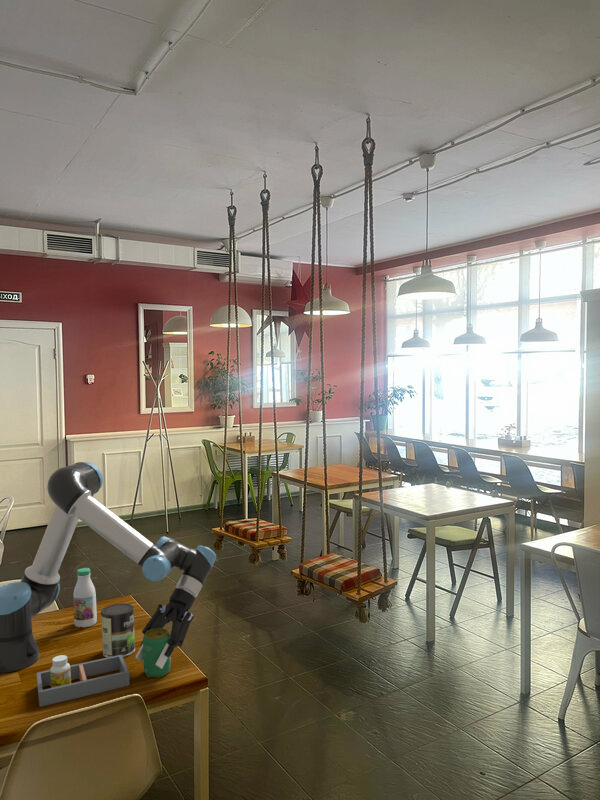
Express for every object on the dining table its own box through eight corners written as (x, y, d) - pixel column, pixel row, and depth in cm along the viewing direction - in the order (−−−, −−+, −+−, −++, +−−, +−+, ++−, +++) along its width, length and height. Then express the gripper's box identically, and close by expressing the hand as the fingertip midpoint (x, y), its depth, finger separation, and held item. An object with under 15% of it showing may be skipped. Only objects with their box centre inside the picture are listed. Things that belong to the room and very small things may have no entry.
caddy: (37, 686, 178) (36, 672, 177) (122, 667, 188) (121, 654, 188) (39, 706, 166) (39, 692, 166) (129, 685, 177) (129, 672, 177)
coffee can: (140, 645, 203) (139, 603, 202) (126, 659, 193) (124, 616, 192) (112, 643, 205) (110, 602, 205) (96, 657, 195) (94, 614, 194)
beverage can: (174, 674, 183) (173, 634, 182) (147, 681, 179) (146, 640, 179) (166, 663, 190) (165, 625, 189) (141, 669, 186) (139, 631, 186)
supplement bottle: (75, 688, 176) (74, 655, 176) (61, 697, 171) (60, 663, 171) (60, 685, 178) (59, 652, 178) (46, 694, 173) (45, 660, 173)
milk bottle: (80, 619, 226) (78, 565, 226) (100, 619, 225) (98, 566, 225) (70, 627, 219) (68, 572, 218) (90, 628, 218) (88, 573, 217)
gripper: (216, 604, 191) (180, 677, 178) (168, 592, 202) (132, 659, 190) (203, 593, 186) (166, 666, 173) (156, 581, 198) (117, 649, 185)
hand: (148, 663), depth 182 cm, fingers closed on beverage can, 8 cm apart
